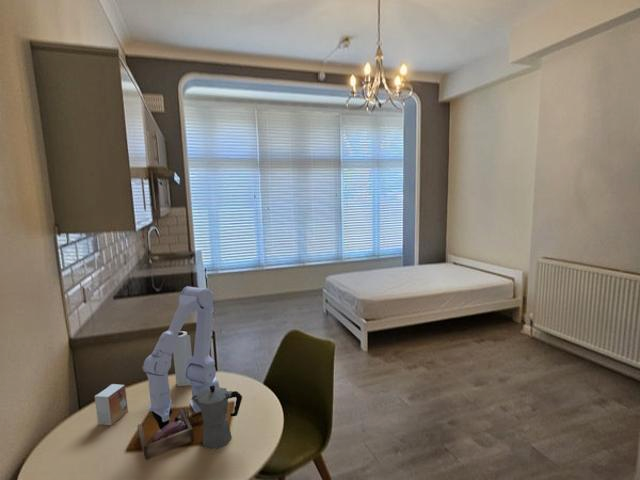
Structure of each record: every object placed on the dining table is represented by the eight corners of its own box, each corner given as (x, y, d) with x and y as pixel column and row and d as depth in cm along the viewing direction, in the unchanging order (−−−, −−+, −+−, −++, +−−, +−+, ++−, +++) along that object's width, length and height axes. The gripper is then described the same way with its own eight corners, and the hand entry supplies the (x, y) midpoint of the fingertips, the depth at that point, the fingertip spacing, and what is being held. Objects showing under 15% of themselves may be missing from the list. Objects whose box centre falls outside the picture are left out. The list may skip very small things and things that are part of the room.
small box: (111, 426, 119) (107, 397, 118) (97, 424, 120) (93, 396, 119) (128, 411, 127) (125, 384, 125) (115, 410, 128) (112, 383, 127)
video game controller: (155, 453, 108) (156, 439, 105) (149, 440, 110) (151, 427, 107) (186, 436, 114) (188, 423, 111) (180, 425, 117) (182, 412, 114)
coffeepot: (191, 452, 105) (185, 396, 103) (199, 431, 115) (194, 379, 112) (242, 447, 106) (238, 392, 104) (247, 427, 116) (243, 376, 113)
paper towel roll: (174, 382, 146) (169, 333, 143) (189, 377, 149) (184, 329, 146) (179, 389, 140) (174, 338, 137) (194, 384, 143) (189, 334, 140)
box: (183, 419, 121) (182, 408, 120) (193, 440, 110) (192, 428, 110) (138, 436, 113) (137, 425, 113) (145, 460, 103) (143, 448, 102)
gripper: (142, 385, 116) (147, 423, 117) (149, 406, 104) (154, 448, 106) (165, 378, 119) (169, 415, 121) (174, 398, 108) (179, 438, 109)
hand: (164, 430), depth 114 cm, fingers closed
